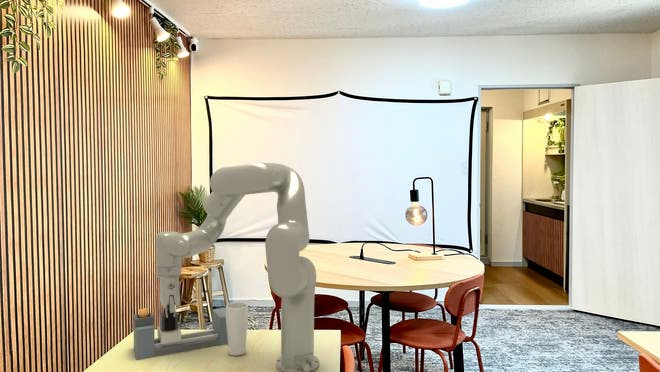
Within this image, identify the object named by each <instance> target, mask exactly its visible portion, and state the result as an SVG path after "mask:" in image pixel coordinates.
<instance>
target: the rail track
mask: <svg viewBox="0 0 660 372" xmlns="http://www.w3.org/2000/svg"><path fill="white" fill-rule="evenodd" d="M211 312H212V313H211V314H212V316H211V317H212V318H211V319H212V321H211V322H212V323H211V325H212V328H211V329H208V330H207V329H206V330H200V331H194V332H188V333H187V332H186V333H181V341H178V342H172V343H166V344H161V343H160V341H159V338H158V337H156V338H155V317H154V314H153V312H152V311H151V312H149V317H145V318H139V313H137V314H136V313H135V314H133V351H134V354H135V359H136V361H139V360H143V359H149V358H154V357H160V356H161V357H162V356H167V355H171V354H177V353H178V354H179V353H182V352H188V351H195V350H199V349H206V348H211V347H216V346H224V345H228V339H227V328H226V307H222V308H221V307H220V308H215V309H214V308H213V309H212V311H211Z"/></svg>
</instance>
